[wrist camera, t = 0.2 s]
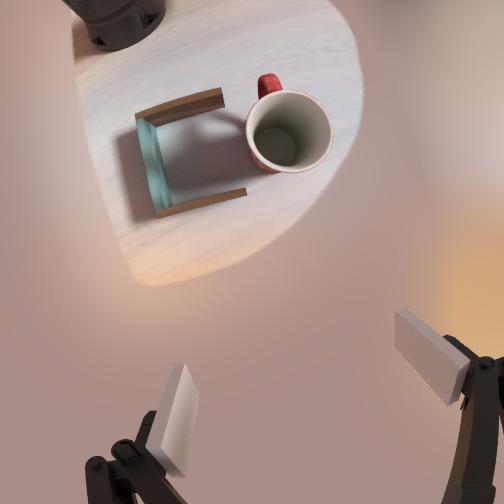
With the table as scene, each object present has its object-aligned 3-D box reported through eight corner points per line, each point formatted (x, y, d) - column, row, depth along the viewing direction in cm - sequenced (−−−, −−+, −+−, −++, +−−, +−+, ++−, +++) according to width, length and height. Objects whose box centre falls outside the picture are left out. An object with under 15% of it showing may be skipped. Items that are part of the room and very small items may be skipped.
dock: (148, 123, 36) (134, 113, 30) (223, 101, 36) (220, 87, 30) (168, 215, 39) (157, 219, 33) (246, 195, 39) (247, 195, 33)
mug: (310, 173, 39) (342, 164, 26) (251, 185, 39) (256, 181, 26) (290, 96, 36) (311, 57, 23) (232, 106, 36) (228, 68, 23)
